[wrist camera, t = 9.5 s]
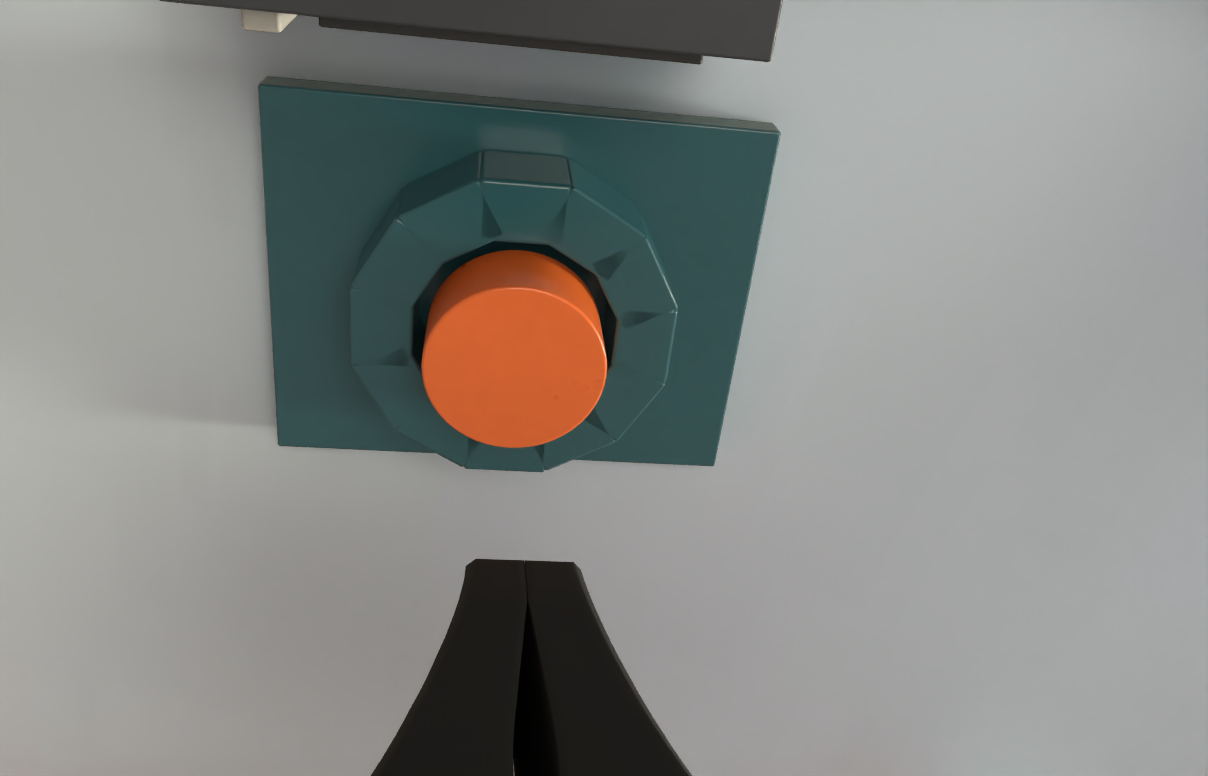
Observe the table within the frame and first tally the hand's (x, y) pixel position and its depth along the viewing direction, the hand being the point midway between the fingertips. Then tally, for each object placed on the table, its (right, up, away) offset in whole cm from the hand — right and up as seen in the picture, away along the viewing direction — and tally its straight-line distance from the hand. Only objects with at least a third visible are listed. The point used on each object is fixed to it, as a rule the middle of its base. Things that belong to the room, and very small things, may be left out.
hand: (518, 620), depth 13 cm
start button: (-1, +4, +7) cm, 8 cm away
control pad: (-1, +5, +9) cm, 10 cm away
